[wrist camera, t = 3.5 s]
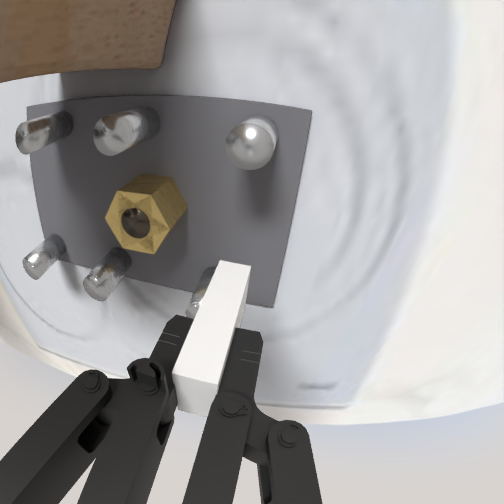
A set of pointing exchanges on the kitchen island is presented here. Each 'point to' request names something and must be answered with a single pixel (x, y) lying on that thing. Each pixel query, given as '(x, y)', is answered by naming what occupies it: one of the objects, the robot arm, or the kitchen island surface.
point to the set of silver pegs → (113, 142)
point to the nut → (145, 212)
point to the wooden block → (81, 35)
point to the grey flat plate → (187, 180)
